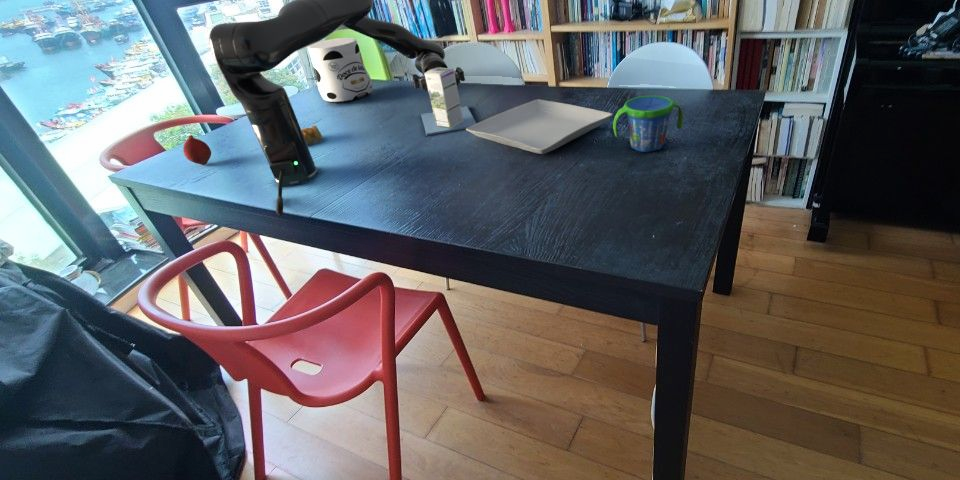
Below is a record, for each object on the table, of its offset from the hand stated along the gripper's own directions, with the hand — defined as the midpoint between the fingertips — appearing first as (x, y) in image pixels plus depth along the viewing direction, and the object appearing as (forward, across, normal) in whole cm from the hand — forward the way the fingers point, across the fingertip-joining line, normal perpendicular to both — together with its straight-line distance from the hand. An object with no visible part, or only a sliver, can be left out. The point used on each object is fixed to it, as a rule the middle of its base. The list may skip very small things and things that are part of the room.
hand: (441, 84), depth 130 cm
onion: (-1, -65, +11) cm, 66 cm away
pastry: (-4, -39, +11) cm, 41 cm away
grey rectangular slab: (-1, 0, +11) cm, 11 cm away
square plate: (+22, +21, +11) cm, 32 cm away
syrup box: (+4, 0, +10) cm, 11 cm away
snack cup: (+42, +41, +11) cm, 59 cm away
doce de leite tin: (-42, -29, +11) cm, 52 cm away
